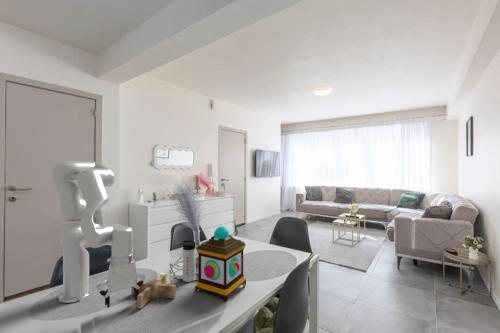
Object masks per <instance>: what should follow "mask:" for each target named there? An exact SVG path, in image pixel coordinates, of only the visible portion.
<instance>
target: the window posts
mask: <svg viewBox="0 0 500 333" xmlns="http://www.w3.org/2000/svg"><path fill="white" fill-rule="evenodd" d="M163 274H164V273H163V272H160V273H159V277H160V276H161V275H163ZM174 276H175V275H174V273H170V274H169V284H172V285H175V284H174V283H175V282H174V280H175V279H174V278H175V277H174Z"/></svg>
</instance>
